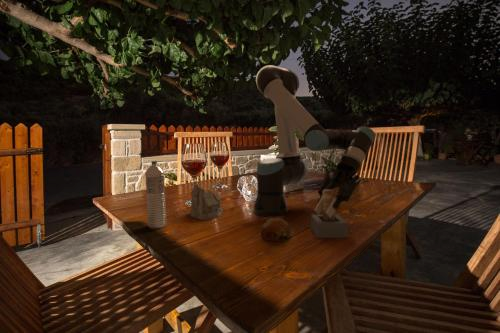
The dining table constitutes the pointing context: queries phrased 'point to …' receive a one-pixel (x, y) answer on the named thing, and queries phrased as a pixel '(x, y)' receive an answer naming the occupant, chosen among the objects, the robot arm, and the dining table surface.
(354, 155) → the robot arm
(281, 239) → the bread roll
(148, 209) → the water bottle
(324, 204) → the dowel
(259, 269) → the dining table surface
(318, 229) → the socket
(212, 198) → the ceramic cottage
